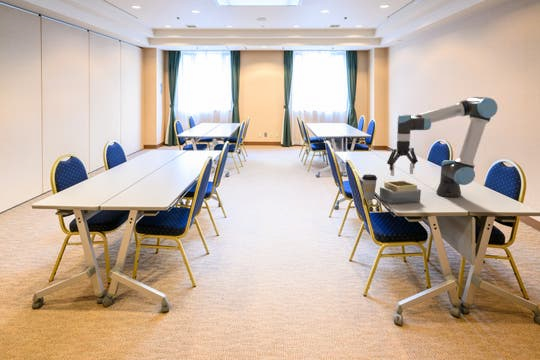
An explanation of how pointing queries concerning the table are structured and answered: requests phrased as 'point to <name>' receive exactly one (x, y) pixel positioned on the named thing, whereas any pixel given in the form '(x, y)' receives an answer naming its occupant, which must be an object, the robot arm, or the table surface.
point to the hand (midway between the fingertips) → (401, 174)
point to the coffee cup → (369, 186)
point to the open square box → (399, 193)
